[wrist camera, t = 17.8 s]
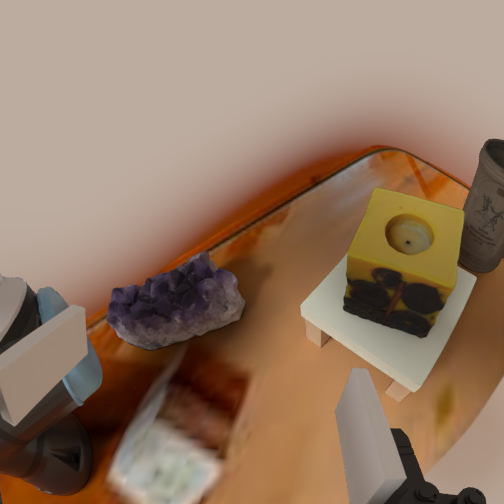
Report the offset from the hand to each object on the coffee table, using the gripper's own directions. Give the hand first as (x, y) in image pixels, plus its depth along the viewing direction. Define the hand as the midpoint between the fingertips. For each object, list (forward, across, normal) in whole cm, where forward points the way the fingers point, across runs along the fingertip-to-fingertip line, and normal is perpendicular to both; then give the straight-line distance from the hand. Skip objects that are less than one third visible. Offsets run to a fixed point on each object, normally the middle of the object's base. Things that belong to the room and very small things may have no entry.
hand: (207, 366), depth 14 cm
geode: (+30, -9, -14) cm, 35 cm away
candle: (+21, +17, -1) cm, 27 cm away
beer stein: (+33, +38, +4) cm, 51 cm away
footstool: (+26, +19, -8) cm, 33 cm away
